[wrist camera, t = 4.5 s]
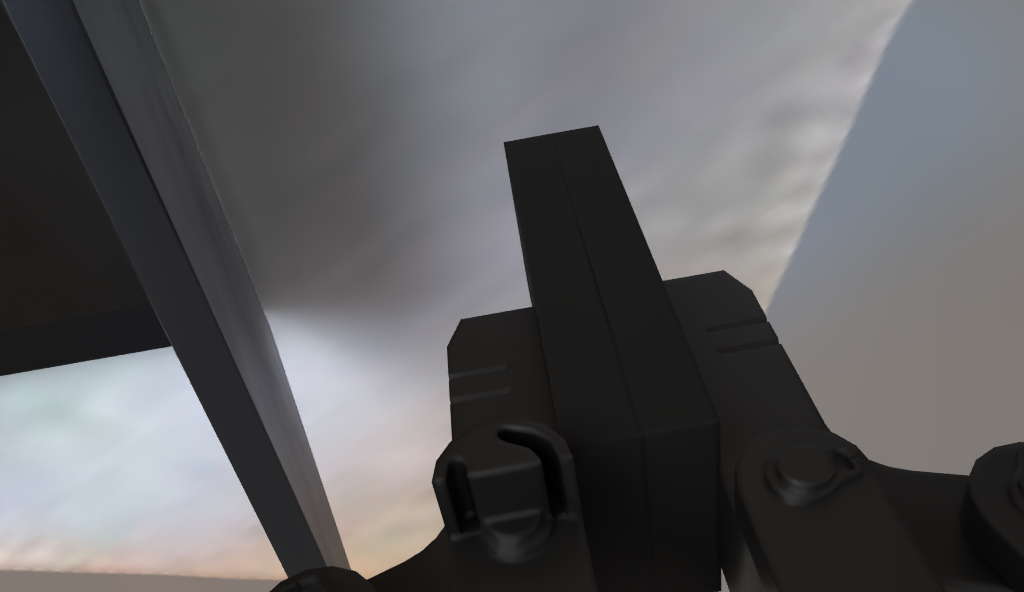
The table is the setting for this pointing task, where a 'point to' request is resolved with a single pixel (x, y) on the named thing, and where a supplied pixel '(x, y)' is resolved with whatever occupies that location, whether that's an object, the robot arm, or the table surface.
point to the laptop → (57, 241)
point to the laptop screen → (181, 253)
